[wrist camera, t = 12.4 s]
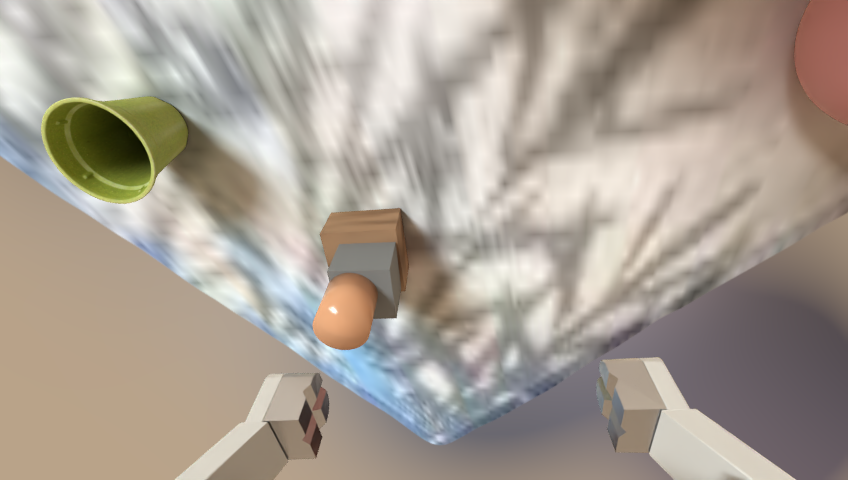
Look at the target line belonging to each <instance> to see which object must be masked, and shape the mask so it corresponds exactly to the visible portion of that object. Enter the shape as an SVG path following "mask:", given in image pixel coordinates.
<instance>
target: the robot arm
mask: <svg viewBox="0 0 848 480" xmlns="http://www.w3.org/2000/svg"><path fill="white" fill-rule="evenodd" d="M599 371H600V374H601V377H600V378H599V379H598V380H597V386H596V389H597V399H598V403H599V407H600V410H601V413H602V415H603V416H605V417H606V418H607V419H608V420H609V422H608V428H607V430H608V433H609V435H610V438H611V441H612V444H613V447H614V449H615V452H629V453H631V452H632V453H633V452H634V453H638V452H639V453H649V455H650V456H651V457H652V458H653V459H654V460H655V461H656V462H657V463H658V464H659V465H660V466H661V467H662V468H663V469H664V470H665V471H666V472H667V473H668V474H669V475H670V476H671V477H672V478H673V479H674V480H796V479H794V478H793V477H791V476H790V475H789V474H787V473H786V472H784V471H783V470H781V469H780V468H779V467H777V466H776V465H774V464H773V463H772V462H770V461H769V460H767V459H766V458H765V457H763V456H762V455H760V454H759V453H758V452H756V451H755V450H753V449H752V448H750V447H749V446H748V445H746V444H745V443H743V442H742V441H741V440H739V439H738V438H736V437H735V436H734V435H732V434H731V433H729V432H728V431H727V430H725V429H724V428H722V427H721V426H720V425H718V424H717V423H715V422H714V421H712V420H711V419H710V418H708V417H706V416H705V415H704V414H702V413H701V412H700V411H698V410H697V409H690V408H689V406H688V404H687V403H686V401H685V399H684V397H683V395H682V394H681V392H680V390H679V389H678V387H677V385H676V383H675V381H674V380H673V378H672V376H671V374H670V373H669V371H668V369H667V367H666V366H665V364H664V362H663V360H661V359H660V358H659V357H655V358H639V359H638V358H628V359H611V360H601V362H600V364H599ZM321 384H322V378H321V376H320V374H319V373H295V374H294V373H288V374H269V375H268V376H267V377H266V379H265V380H264V382H263V385H262V387H261V389H260V391H259V393H258V396H257V398H256V400H255V402H254V404H253V406H252V408H251V411H250V413H249V415H248V417H247V419H246V421H245V423H239V424H238V425H237V426H236V427H235V428H234V429H232V430H231V431H230V432H229V433H228V434H227V435H226V436H224V437H223V438H222V439H221V440H220V441H219V442H217V443H216V444H215V445H214V446H213V447H212V448H211V449H210V450H208V451H207V452H206V453H205V454H204V455H203V456H201V457H200V458H199V459H198V460H197V461H196V462H194V463H193V464H192V465H191V466H190V467H189V468H188V469H186V470H185V471H184V472H183V473H182V474H181V475H179V476H178V477H177V478H176V479H175V480H273V479H274V478H275V477H276V476H277V475H278V473H279V472H280V471H281V470H282V469H283V467H284V466H285V465H286V464H287V463H288V460H292V459H314V458H316V457H317V454H318V450H319V447H320V443H321V440H322V435H321V432H320V430H319V429H320V428H321V427H322V426H323V425H324V424H325V423H326V422H327V418H328V414H329V398H328V394H327V391H326V390H325V389H324V388H322V387H321Z"/></svg>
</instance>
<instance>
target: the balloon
mask: <svg viewBox="0 0 848 480" xmlns="http://www.w3.org/2000/svg"><path fill="white" fill-rule="evenodd" d="M794 60H795V68H796V72H797V76H798V79H799V81H800V84H801V86H802V88H803V90H804V91H805V93H806V94H807V96H808V97H809V98H810V99H811V101H812V102H813V103H814V104H815V105H816V106H817V107H818V108H819V109H821V110H822V111H823V112H824V113H826V114H827V115H829V116H830V117H832V118H834V119H835V120H837V121H839V122H841V123H843V124H846V125H848V0H810V2H809V4H808V6H807V8H806V10H805V12H804V14H803V16H802V19H801V21H800V24H799V27H798V31H797V35H796V40H795V49H794Z"/></svg>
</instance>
